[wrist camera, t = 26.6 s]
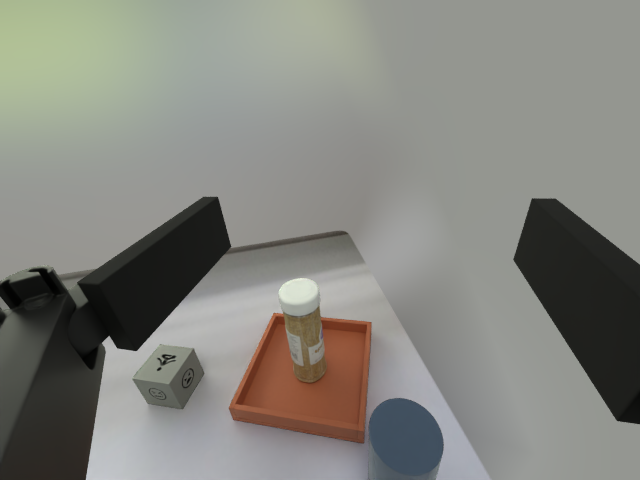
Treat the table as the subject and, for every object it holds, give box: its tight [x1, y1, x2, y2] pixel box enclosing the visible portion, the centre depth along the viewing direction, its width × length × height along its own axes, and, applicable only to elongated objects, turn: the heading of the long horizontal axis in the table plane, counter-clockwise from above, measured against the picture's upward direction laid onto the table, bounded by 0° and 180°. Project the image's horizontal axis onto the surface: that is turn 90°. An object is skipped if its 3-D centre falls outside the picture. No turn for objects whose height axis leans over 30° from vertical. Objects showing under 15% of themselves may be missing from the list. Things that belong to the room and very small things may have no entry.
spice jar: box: [279, 278, 327, 383], centre depth 35 cm, size 5×5×14 cm
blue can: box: [368, 398, 444, 480], centre depth 25 cm, size 6×6×10 cm
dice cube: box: [132, 344, 204, 409], centre depth 37 cm, size 5×5×5 cm
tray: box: [229, 313, 371, 443], centre depth 38 cm, size 15×15×2 cm
